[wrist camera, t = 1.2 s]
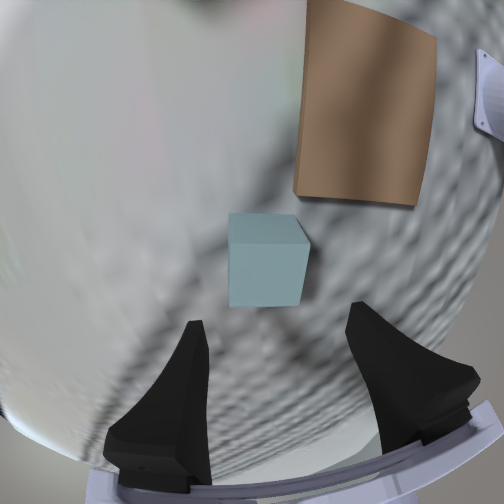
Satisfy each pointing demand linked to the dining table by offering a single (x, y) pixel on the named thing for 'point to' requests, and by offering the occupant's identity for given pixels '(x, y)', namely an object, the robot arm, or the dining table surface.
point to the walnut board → (364, 105)
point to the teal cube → (266, 260)
